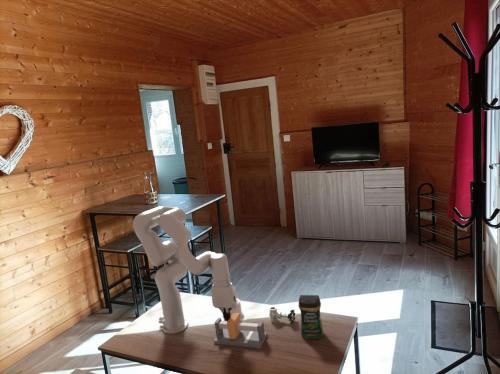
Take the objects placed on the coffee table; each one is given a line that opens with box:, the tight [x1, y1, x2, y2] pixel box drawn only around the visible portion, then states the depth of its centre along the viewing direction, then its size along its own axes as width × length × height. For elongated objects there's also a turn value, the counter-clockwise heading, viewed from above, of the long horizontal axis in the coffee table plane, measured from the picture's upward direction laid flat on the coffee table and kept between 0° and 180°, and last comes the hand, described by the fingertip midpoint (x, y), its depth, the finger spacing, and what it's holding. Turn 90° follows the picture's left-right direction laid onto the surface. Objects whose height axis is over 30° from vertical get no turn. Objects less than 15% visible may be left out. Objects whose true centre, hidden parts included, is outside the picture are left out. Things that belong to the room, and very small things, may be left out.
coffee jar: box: [298, 294, 324, 340], centre depth 165 cm, size 10×8×19 cm
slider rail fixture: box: [213, 317, 268, 349], centre depth 169 cm, size 22×10×8 cm, turn 70°
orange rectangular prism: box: [227, 313, 242, 339], centre depth 170 cm, size 3×8×8 cm, turn 160°
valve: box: [268, 306, 296, 325], centre depth 180 cm, size 7×7×12 cm
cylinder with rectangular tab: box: [230, 286, 242, 316], centre depth 194 cm, size 9×9×12 cm
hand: (227, 319), depth 170 cm, fingers closed
